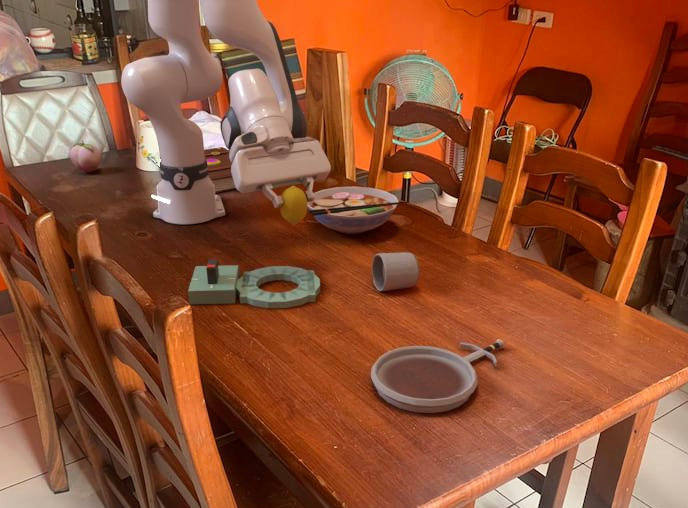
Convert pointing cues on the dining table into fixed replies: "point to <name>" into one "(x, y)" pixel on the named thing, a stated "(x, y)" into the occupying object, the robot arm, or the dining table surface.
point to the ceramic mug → (395, 271)
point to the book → (220, 168)
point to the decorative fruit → (85, 156)
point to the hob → (296, 297)
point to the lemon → (294, 205)
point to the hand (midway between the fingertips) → (294, 203)
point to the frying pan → (428, 377)
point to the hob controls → (214, 286)
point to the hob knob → (212, 271)
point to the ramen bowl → (352, 208)
